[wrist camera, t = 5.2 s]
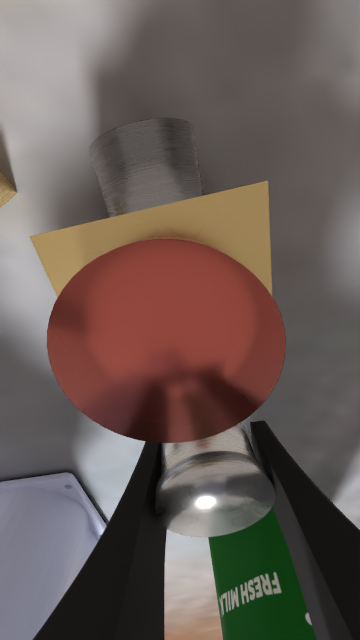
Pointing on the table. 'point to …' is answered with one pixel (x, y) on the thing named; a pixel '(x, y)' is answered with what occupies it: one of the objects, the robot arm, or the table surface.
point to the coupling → (212, 485)
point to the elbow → (5, 190)
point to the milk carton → (258, 585)
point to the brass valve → (164, 293)
